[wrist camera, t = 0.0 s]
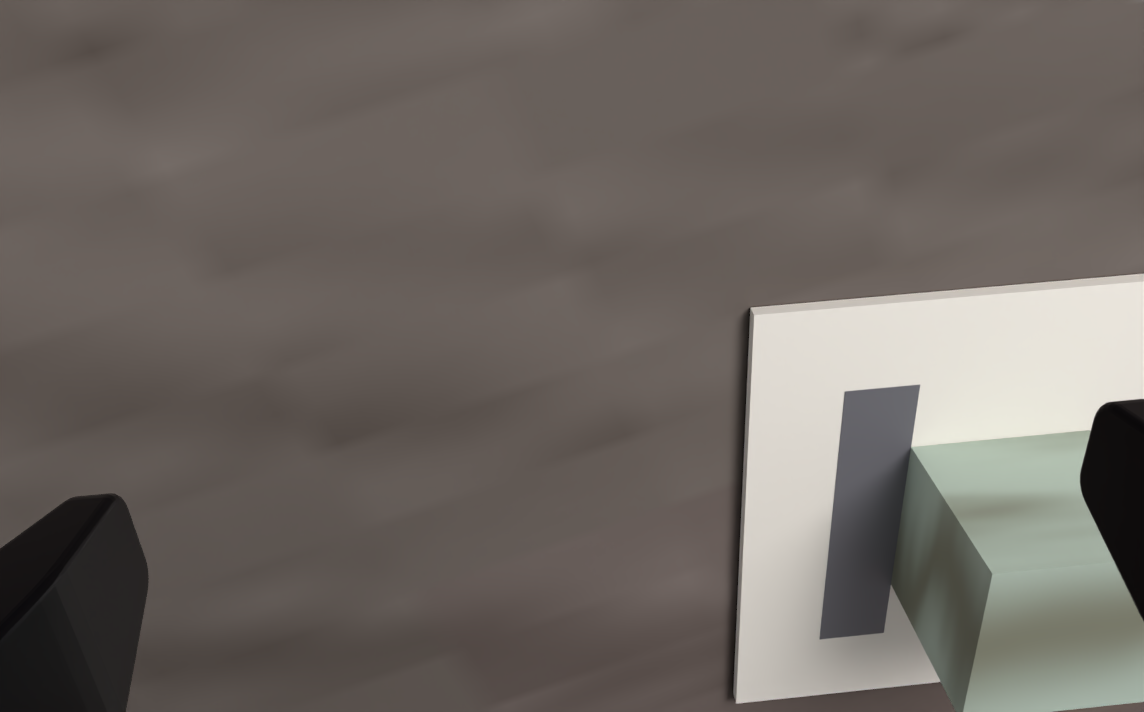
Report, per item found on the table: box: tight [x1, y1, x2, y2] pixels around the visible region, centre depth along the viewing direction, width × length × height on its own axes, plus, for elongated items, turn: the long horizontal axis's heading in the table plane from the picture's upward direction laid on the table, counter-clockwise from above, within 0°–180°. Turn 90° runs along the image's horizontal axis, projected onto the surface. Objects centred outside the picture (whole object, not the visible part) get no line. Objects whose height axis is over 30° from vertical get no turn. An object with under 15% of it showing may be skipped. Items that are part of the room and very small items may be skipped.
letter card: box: [733, 274, 1144, 704], centre depth 29 cm, size 14×14×1 cm
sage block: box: [891, 430, 1144, 712], centre depth 27 cm, size 5×5×5 cm
